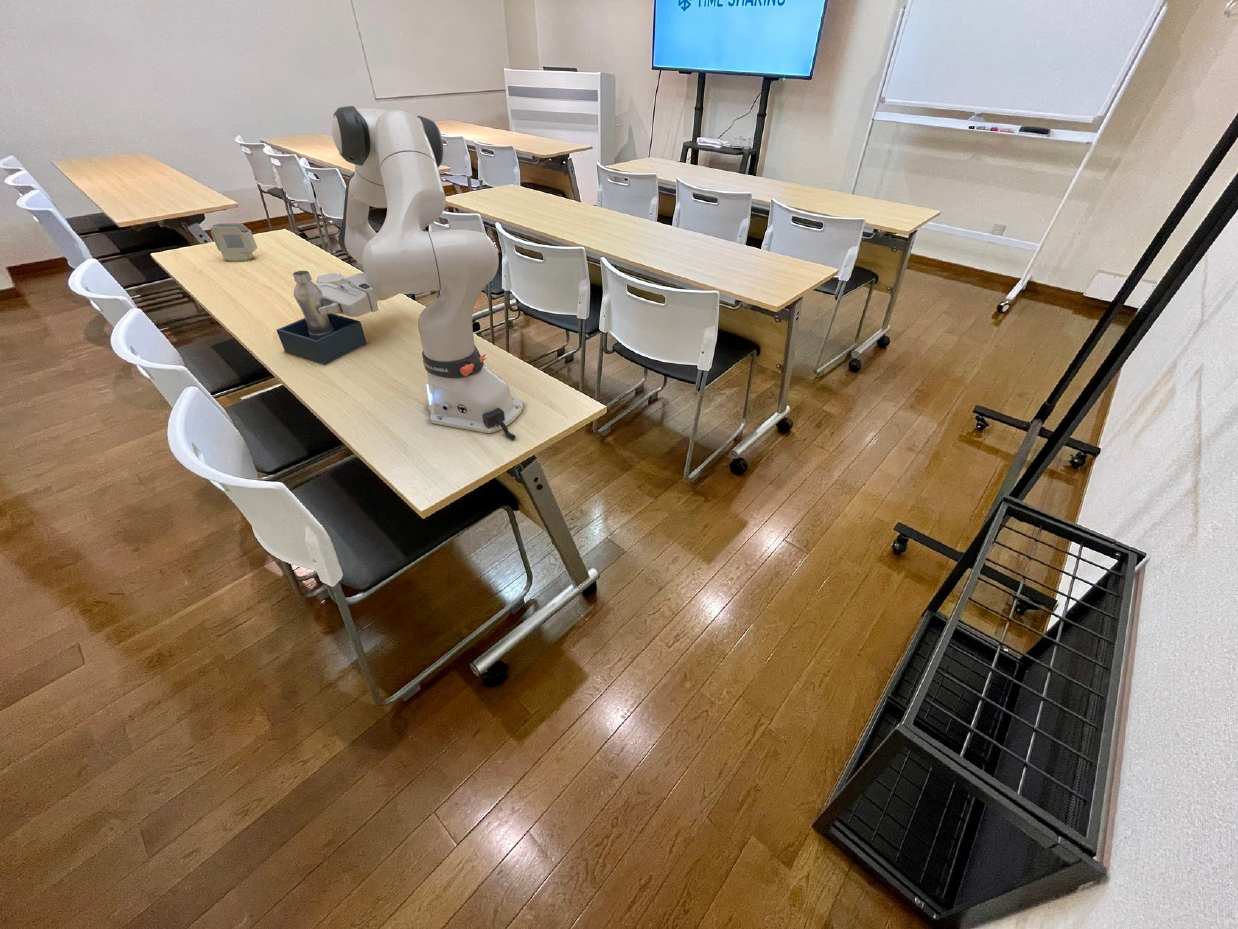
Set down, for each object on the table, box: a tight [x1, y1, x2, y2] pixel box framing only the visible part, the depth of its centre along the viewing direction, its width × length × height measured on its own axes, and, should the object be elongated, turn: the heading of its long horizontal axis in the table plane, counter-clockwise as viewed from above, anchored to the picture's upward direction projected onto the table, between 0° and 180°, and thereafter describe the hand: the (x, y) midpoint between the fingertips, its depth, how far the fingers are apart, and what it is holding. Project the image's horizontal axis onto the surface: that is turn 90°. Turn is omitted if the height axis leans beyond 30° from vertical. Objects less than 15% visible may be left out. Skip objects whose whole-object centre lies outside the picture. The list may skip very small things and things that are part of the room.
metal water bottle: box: [292, 270, 335, 340], centre depth 137 cm, size 6×7×20 cm
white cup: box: [315, 272, 345, 314], centre depth 161 cm, size 8×8×10 cm
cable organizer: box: [209, 222, 258, 262], centre depth 192 cm, size 7×12×12 cm, turn 102°
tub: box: [275, 313, 368, 366], centre depth 141 cm, size 15×15×7 cm
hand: (309, 308), depth 136 cm, fingers closed on metal water bottle, 6 cm apart
